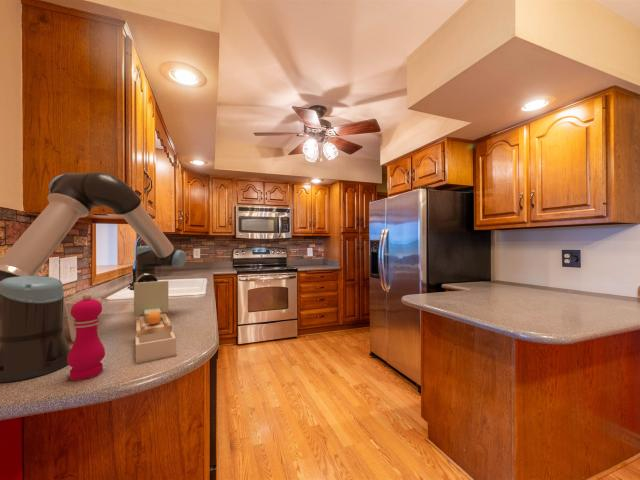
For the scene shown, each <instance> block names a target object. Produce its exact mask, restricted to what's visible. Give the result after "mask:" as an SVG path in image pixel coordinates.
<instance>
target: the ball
mask: <svg viewBox="0 0 640 480" xmlns="http://www.w3.org/2000/svg"><path fill="white" fill-rule="evenodd" d="M160 320H161V315H160V313H159V312H156V311H153V312H150V313H149V314H148V315H147V317H146V321H147V323H149V324H151V325H155V324H157V323H158V322H159V321H160Z"/></svg>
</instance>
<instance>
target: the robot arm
mask: <svg viewBox="0 0 640 480" xmlns="http://www.w3.org/2000/svg"><path fill="white" fill-rule="evenodd" d="M47 187H48V190H49V191H48V195H47V201H48V204H47V205H46V207H45V208H44V209H43V210H42V211H41V213H39V215H37V217H36V218H35V219H34V221H32V223H30V225H29V226H28V227H27V228H26V230H25V231H24V232H23V233H22V234H21V235H20V237H18V239H17V240H16V241H15V242H14V244H12V245H11V247H10V248H9V249H8V251H6V252H5V254H4V255H3V256H2V257H1V259H0V383H7V382H8V383H9V382H10V383H11V382H17V381H23V380H27V379H32V378H36V377H39V376H43V375H47V374H50V373H53V372H55V371H58V370H60V369H63V368H64V367H66V366H67V365H68V363H67V358H68V354H69V351H70V350H71V347H70V345H69V344H68V341H67V339H66V337H65V335H64V296H65V292H64V287H63V286H64V285H63V282H62V281H61V280H60V279H59V278H56V277H52V276H41V275H38V273H39V272H40V270H41V269H42V268H43V266H44V265H45V263H47V261H48V260H49V258H50V257H51V256H52V255H53V253H55V251H56V249H57V247H59V246H60V244H61V243H62V241H63V240H64V238H66V236H67V235H68V233H69V232H70V231H71V230H72V228H73V227H74V225H75V224H76V222H78V220H79V219H80V218H87V217H88V216H89V214H90V213H91V212H92V211H93V209H94V208H95V207H106V208H109V209H111V211H112V212H113V213H114V214H116V215H118V216H121V217H122V218H123V219H124V220H125V222H127V224H128V225H130V227H131V228H132V230H134V232H135V233H136V234H137V235H138V236H139V237H140V238H141V240H142V241H143V242H144V243H145V244H146V245H140V246H137V248H136V255H135V257H136V258H135V259H136V262H135V263H136V265H135V266H136V274H135V275H136V278H135V282H133V283H132V282H131V283H129V291H133V292H134V283H141V282H155V281H159V280H158V278H157V277H156V276H157V275H156V273H157V268H181V267H183V266H185V264H186V262H187V254H186V252H185V251H184V250H182V249H181V250H180V249H176V248H175V247H174V245H173V243H171V241H170V240H169V239H168V237H167V236H166V235H165V234H164V232H163V231H162V230H161V228H160V227H159V226H158V225H157V222H155V220H153V218H152V217H151V216H150V214H149V213H148V211H147V210H146V209H145V208H144V206H143V205H142V198H140V197H139V194H137V193H136V192H135V190H134V189H133V188H131V186H129V184H127V183H126V182H124V181H123V180H122V179H120V178H119V177H118V176H115V175H113V174H110V173H107V172H101V171H96V172H68V173H63V174H60V175H57V176H55V177H54V178H52V180H51V181H50V183H49V184H48V186H47ZM37 275H38V276H37Z"/></svg>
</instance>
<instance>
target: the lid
mask: <svg viewBox="0 0 640 480" xmlns="http://www.w3.org/2000/svg"><path fill="white" fill-rule="evenodd" d="M133 283H134V291H133V316H139V315H142V314H143V317H144V320H145V323H147V321H146V317H147V315H148V314H149V313H150V312H153V311H156V312H159V313H160V315H161V312H163V313H165V312H169V280H158V281H155V282H141V283H136V282H133ZM160 321H161V320H160Z"/></svg>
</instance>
